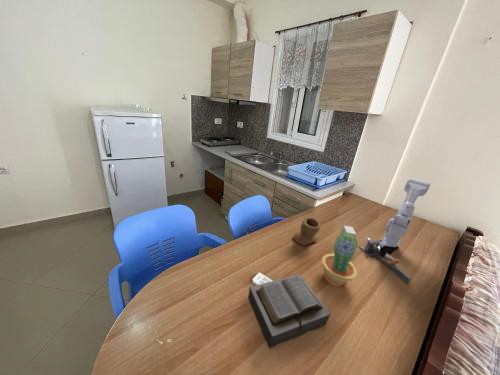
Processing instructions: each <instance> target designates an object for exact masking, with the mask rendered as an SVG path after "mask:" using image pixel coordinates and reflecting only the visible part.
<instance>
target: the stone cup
mask: <svg viewBox="0 0 500 375" xmlns="http://www.w3.org/2000/svg"><path fill="white" fill-rule="evenodd" d="M320 227H321V224H320V221H319V220H318V219H316V218H314V217H306V218H304V219H303V221H302V222H301V225H300V231H299V232H296V233H295V234H293V236H292V237H293V239H294V240H295V241H296V242H297V243H298V244H300V245H302V246H306V245H309V244H312V243H314V242H317V241H318V240H319V239H318V237H317V235H316V234H318V232H319V231H320Z"/></svg>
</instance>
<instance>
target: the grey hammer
mask: <svg viewBox="0 0 500 375" xmlns="http://www.w3.org/2000/svg"><path fill="white" fill-rule="evenodd" d="M382 240H383V239H380V240H372V241H368V242H366V245H361V246H359V247H358V248H359V250H361V251H362V252H363V253H364V254H365V255H366V256H367V257H369V258H372V257H377V258H378V260H380V261H381V262H382V263H383V264H385V266H387V268H389V269H390V270H391V271H392V272H393V273H395V275H396V276H398V277H399V278H400V280H403V282H404V283H406V284H409V283H410V282H411V281H412V277H411V276H409V275H408V274H407V273H406V272H405V271H404V270H403V269H402V268H400V267H399V266H398V264H389V263H388V262H387V261H388V259H387V258H386V257H382V256H380V252H379V251H377V250H376V249H375V248H374V245H376V244H377V245H378V246H379V243H380V242H382ZM379 247H380V246H379Z"/></svg>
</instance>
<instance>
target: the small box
mask: <svg viewBox="0 0 500 375" xmlns="http://www.w3.org/2000/svg"><path fill="white" fill-rule="evenodd" d="M345 232H346V233H347V234H349V233H351V235H354V236H355V238H356V237H357V233H356V230H355V229H354V227H353V226H349V225H342V229H341V231H340V234H339V236H340V235H341V234H343V233H345Z"/></svg>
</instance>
